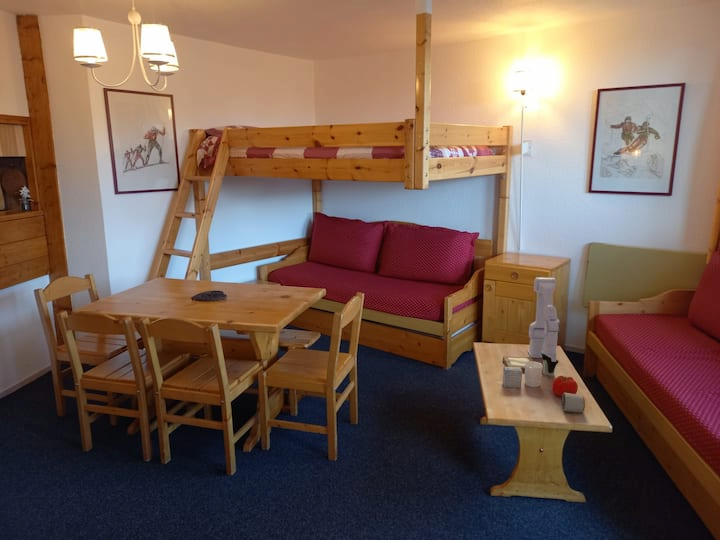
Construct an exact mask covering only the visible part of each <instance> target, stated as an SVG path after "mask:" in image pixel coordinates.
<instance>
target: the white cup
mask: <svg viewBox="0 0 720 540" xmlns="http://www.w3.org/2000/svg"><path fill="white" fill-rule="evenodd" d="M542 368H543V363H541V362H538V361H528V362H526V363H525V372H524V385H525V386H527V387H530V388H539V387H540V386H541V381H542V374H543V372H542Z"/></svg>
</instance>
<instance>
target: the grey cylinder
mask: <svg viewBox="0 0 720 540" xmlns="http://www.w3.org/2000/svg"><path fill="white" fill-rule="evenodd" d="M585 408H586V399H585V397H584V396H583V395H581V394H577V393H576V394H570V393H563V396H562V397H561V409H562V411H563V412H568V413H583V412H584V411H585Z"/></svg>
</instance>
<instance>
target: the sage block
mask: <svg viewBox="0 0 720 540" xmlns="http://www.w3.org/2000/svg"><path fill="white" fill-rule="evenodd" d="M542 365H543V368H542V374H544V376H555V369H556V368H555V369H554V372H553V373H548V365H547V361H546V360H543V359H542Z"/></svg>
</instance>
